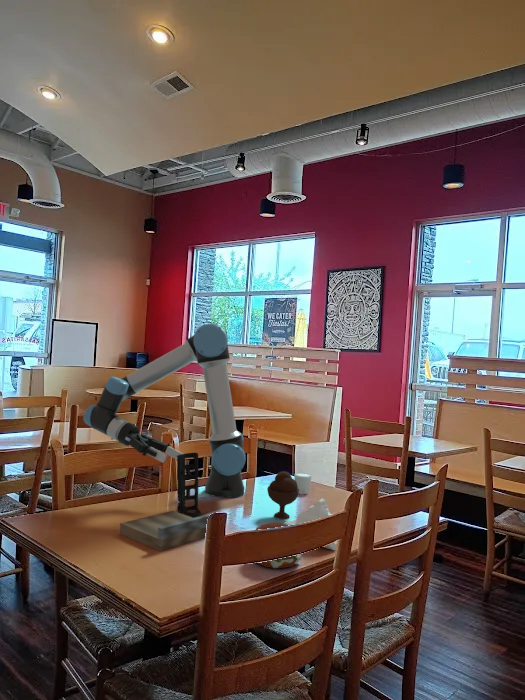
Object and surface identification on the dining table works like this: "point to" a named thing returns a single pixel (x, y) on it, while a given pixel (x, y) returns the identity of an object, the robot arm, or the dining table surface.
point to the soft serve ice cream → (314, 517)
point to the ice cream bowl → (283, 492)
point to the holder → (181, 485)
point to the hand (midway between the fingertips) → (174, 458)
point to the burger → (284, 561)
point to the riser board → (165, 529)
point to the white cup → (303, 482)
